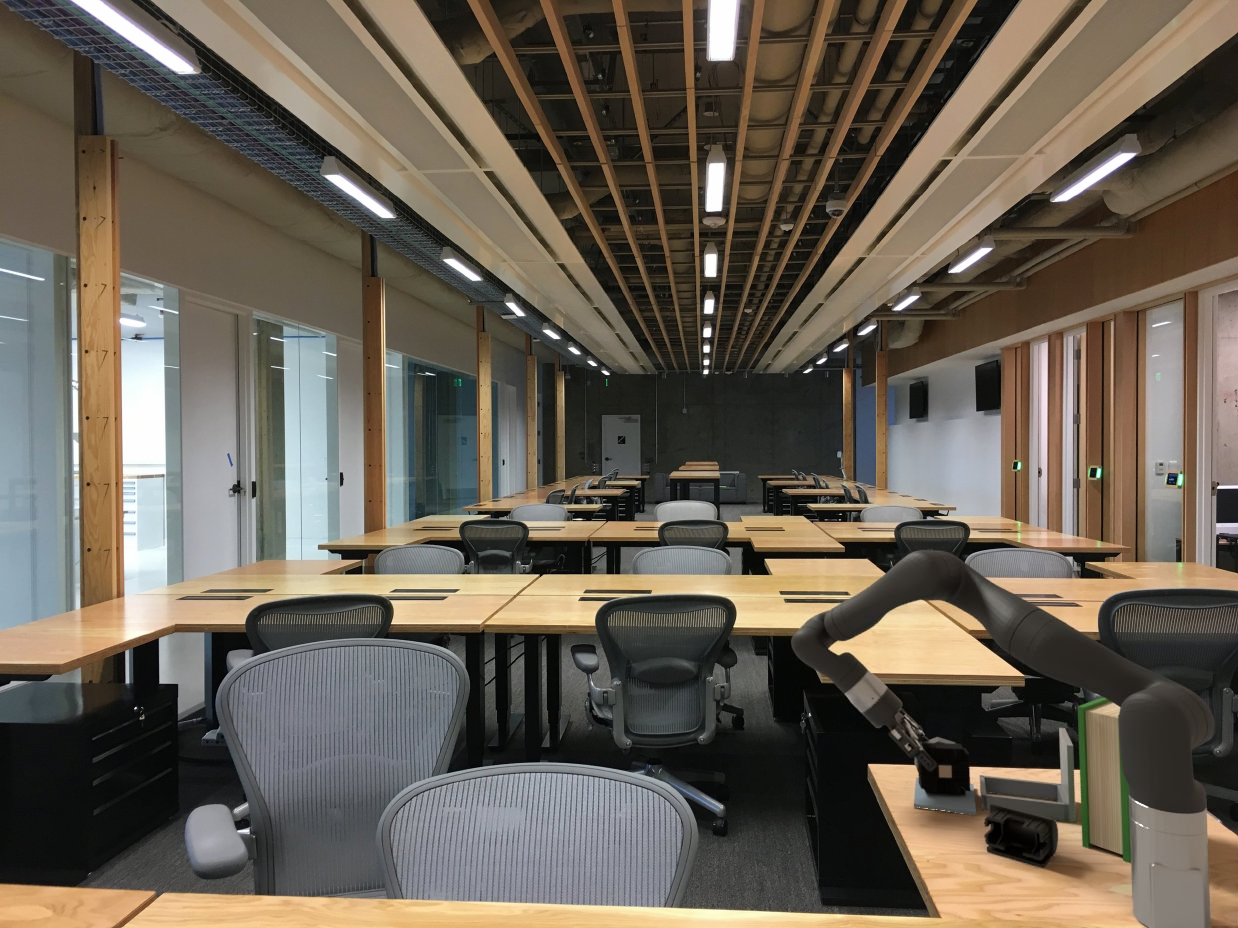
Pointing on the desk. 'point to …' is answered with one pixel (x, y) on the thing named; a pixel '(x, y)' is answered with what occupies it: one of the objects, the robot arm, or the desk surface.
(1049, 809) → the open rectangular frame
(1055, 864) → the desk surface
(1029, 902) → the desk surface
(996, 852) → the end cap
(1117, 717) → the hardback book
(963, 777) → the cpu cooler
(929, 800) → the rubber mat
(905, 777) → the desk surface
